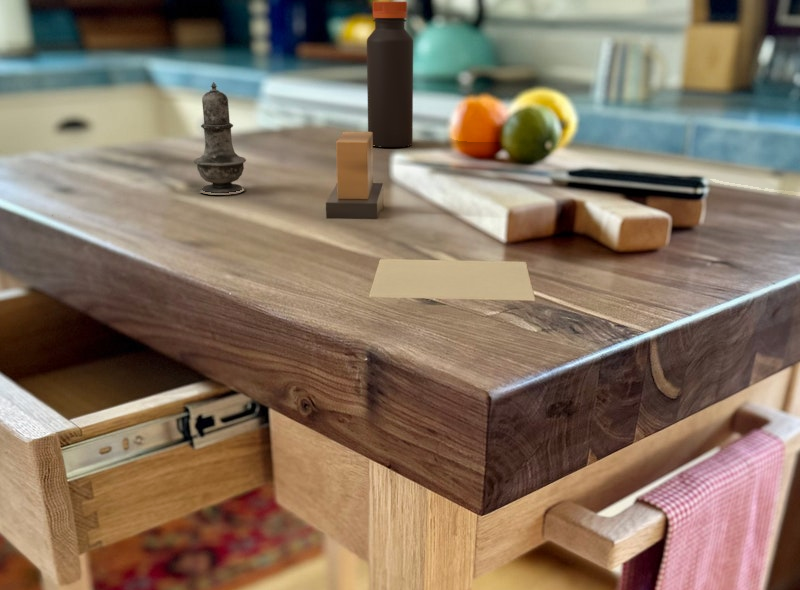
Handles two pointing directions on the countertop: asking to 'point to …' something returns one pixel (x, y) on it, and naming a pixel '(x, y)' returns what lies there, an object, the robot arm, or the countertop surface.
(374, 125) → the bottle
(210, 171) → the salt shaker
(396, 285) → the memo board
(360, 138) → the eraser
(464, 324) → the countertop surface
